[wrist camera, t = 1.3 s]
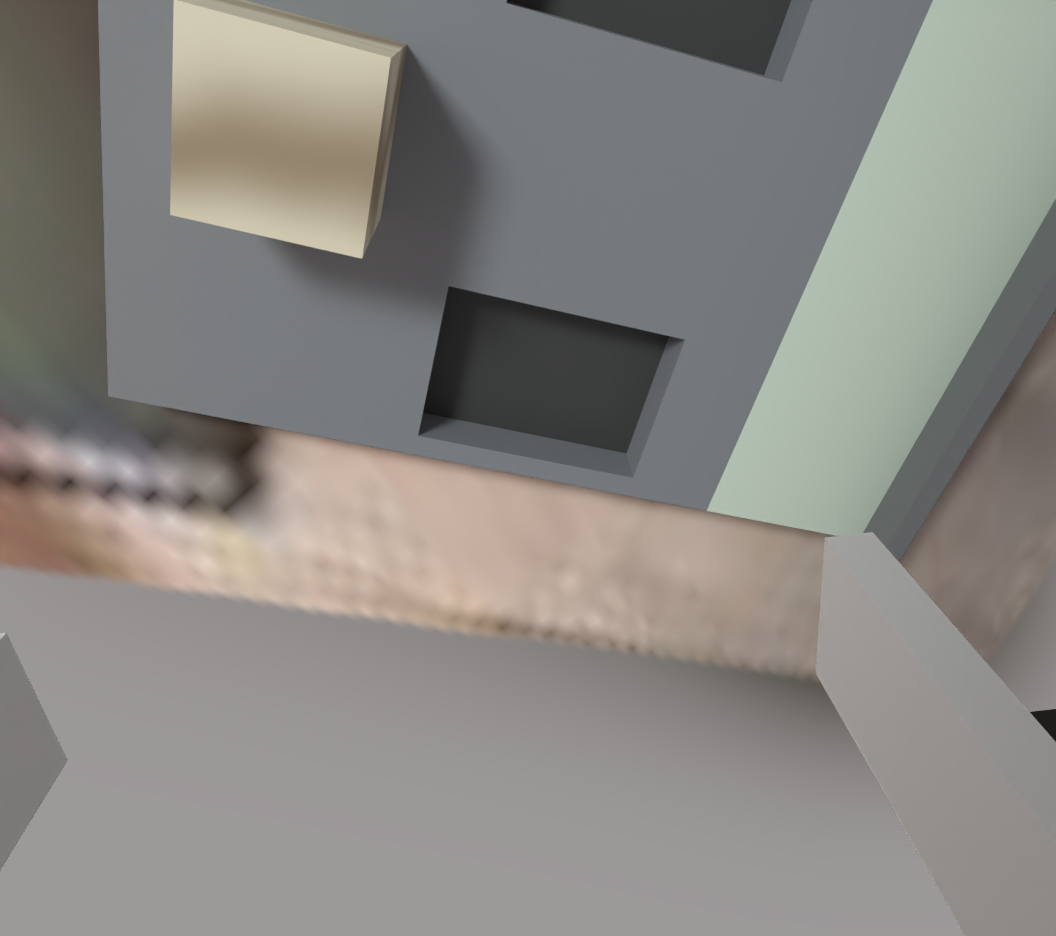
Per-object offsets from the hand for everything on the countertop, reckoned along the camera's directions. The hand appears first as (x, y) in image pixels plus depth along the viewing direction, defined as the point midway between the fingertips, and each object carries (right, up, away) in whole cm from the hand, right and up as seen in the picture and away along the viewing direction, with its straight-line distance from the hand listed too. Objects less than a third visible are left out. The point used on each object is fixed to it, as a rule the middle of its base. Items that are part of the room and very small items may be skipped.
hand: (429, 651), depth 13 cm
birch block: (-6, +15, +15) cm, 22 cm away
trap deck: (+4, +15, +19) cm, 24 cm away
